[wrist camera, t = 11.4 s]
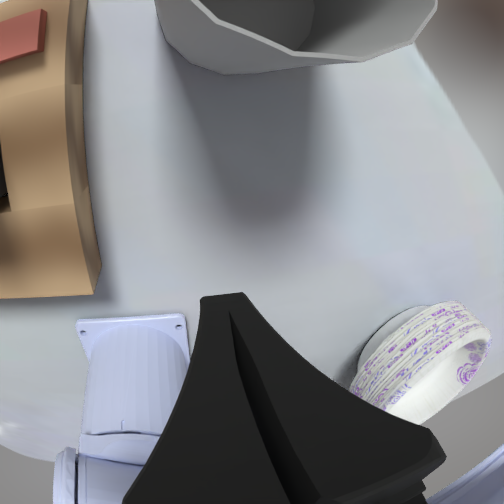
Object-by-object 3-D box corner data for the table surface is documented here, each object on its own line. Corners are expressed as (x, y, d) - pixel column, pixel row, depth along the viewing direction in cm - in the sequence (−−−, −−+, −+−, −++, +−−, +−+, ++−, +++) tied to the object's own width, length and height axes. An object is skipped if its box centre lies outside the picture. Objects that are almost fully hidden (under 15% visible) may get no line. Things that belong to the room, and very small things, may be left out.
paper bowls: (453, 329, 33) (490, 370, 26) (359, 402, 35) (386, 450, 28) (441, 251, 25) (500, 301, 18) (309, 353, 27) (346, 424, 20)
